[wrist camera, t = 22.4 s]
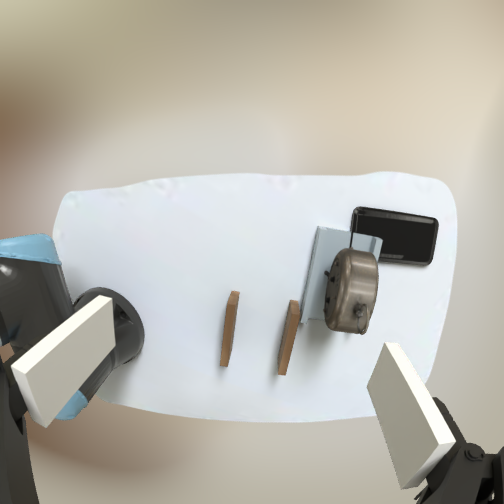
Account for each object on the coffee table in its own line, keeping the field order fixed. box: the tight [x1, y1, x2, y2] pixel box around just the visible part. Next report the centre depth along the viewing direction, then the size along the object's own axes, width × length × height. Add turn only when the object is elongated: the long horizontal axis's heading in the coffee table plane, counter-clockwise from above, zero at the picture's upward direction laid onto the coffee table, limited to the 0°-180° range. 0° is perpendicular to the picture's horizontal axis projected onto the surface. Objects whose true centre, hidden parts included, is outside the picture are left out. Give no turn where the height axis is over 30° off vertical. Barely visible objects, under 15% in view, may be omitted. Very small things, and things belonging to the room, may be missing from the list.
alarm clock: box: [323, 247, 379, 335], centre depth 36 cm, size 11×5×16 cm, turn 171°
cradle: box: [300, 226, 383, 323], centre depth 43 cm, size 10×14×2 cm, turn 172°
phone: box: [349, 207, 439, 265], centre depth 42 cm, size 8×1×15 cm
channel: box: [220, 291, 300, 375], centre depth 45 cm, size 10×11×5 cm
